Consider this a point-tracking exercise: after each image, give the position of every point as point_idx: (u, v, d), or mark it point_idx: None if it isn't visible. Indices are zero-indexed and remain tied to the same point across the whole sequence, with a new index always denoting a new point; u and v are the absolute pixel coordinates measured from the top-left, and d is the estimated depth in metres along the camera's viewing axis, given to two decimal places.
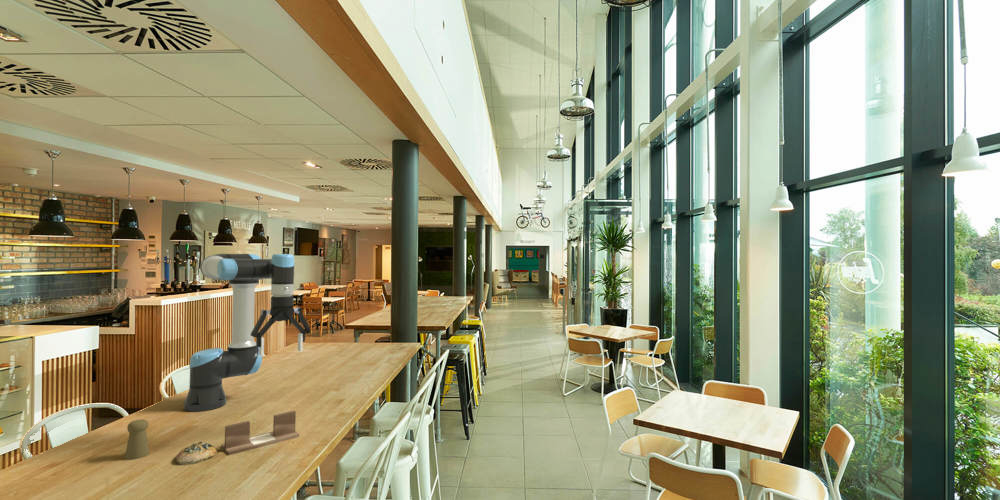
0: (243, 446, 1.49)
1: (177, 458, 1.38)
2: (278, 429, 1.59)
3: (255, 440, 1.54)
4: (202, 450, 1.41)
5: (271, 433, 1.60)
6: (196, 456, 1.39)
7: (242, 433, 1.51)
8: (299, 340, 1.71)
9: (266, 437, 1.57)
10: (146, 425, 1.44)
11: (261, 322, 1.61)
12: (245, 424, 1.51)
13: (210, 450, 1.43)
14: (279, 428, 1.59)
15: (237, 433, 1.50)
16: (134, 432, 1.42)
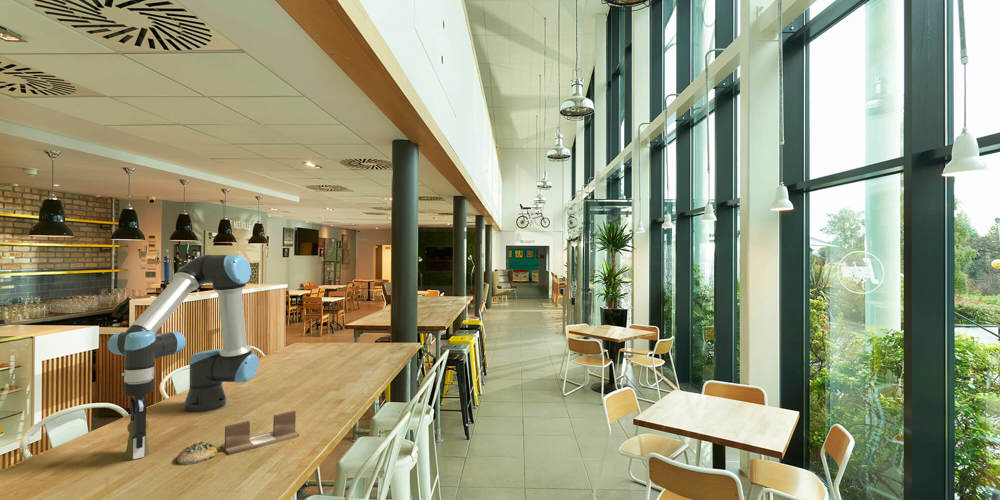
0: (243, 446, 1.49)
1: (178, 458, 1.39)
2: (278, 429, 1.59)
3: (255, 440, 1.54)
4: (203, 450, 1.41)
5: (271, 433, 1.60)
6: (197, 456, 1.39)
7: (242, 433, 1.51)
8: None
9: (266, 437, 1.57)
10: (146, 425, 1.44)
11: None
12: (245, 424, 1.51)
13: (211, 450, 1.43)
14: (279, 428, 1.59)
15: (237, 433, 1.50)
16: None
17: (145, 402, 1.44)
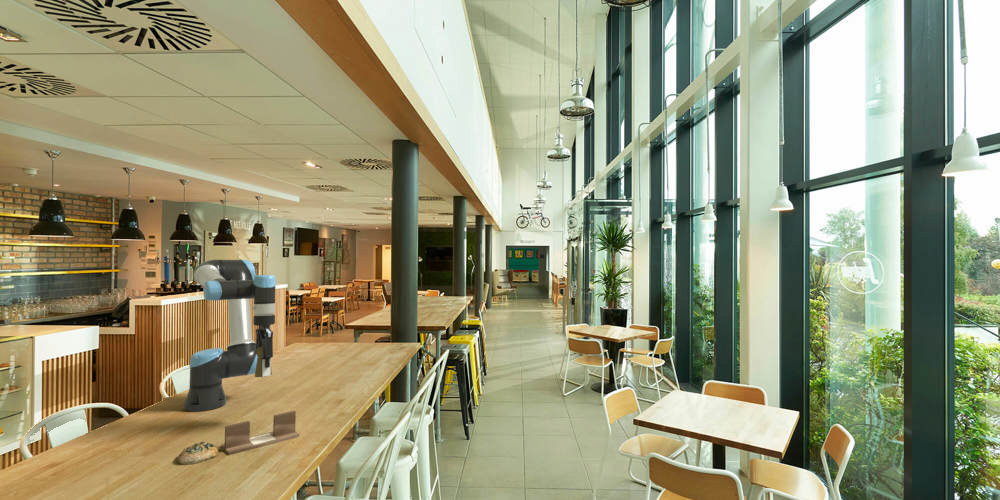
0: (243, 446, 1.49)
1: (179, 458, 1.39)
2: (278, 429, 1.59)
3: (255, 440, 1.54)
4: (204, 450, 1.41)
5: (271, 433, 1.60)
6: (198, 456, 1.39)
7: (242, 433, 1.51)
8: None
9: (266, 437, 1.57)
10: None
11: (256, 340, 1.79)
12: (245, 424, 1.51)
13: (212, 450, 1.43)
14: (279, 428, 1.59)
15: (237, 433, 1.50)
16: (262, 355, 1.73)
17: (270, 331, 1.75)
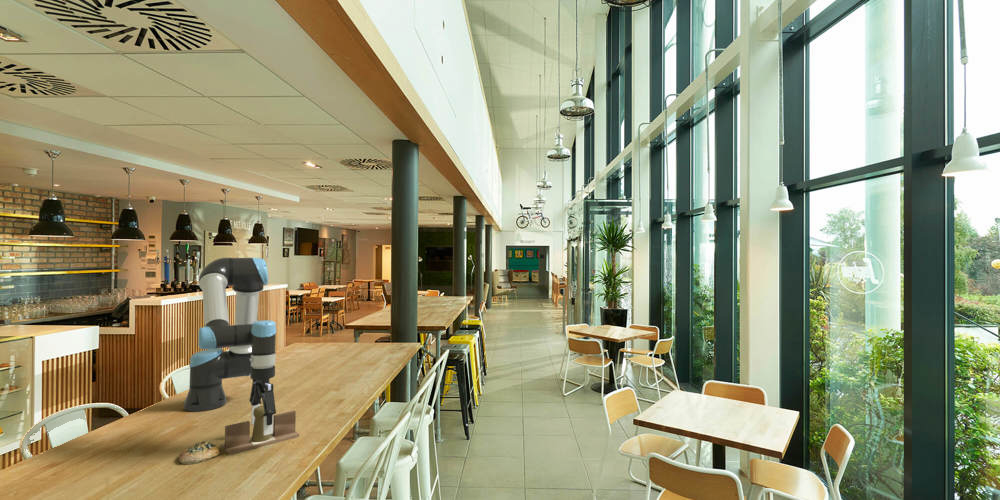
0: (243, 446, 1.49)
1: (180, 458, 1.39)
2: (278, 429, 1.59)
3: None
4: (205, 450, 1.42)
5: None
6: (199, 456, 1.39)
7: (242, 433, 1.51)
8: None
9: None
10: None
11: (252, 389, 1.60)
12: (245, 424, 1.51)
13: (213, 450, 1.43)
14: (279, 428, 1.59)
15: (237, 433, 1.50)
16: (260, 417, 1.53)
17: None
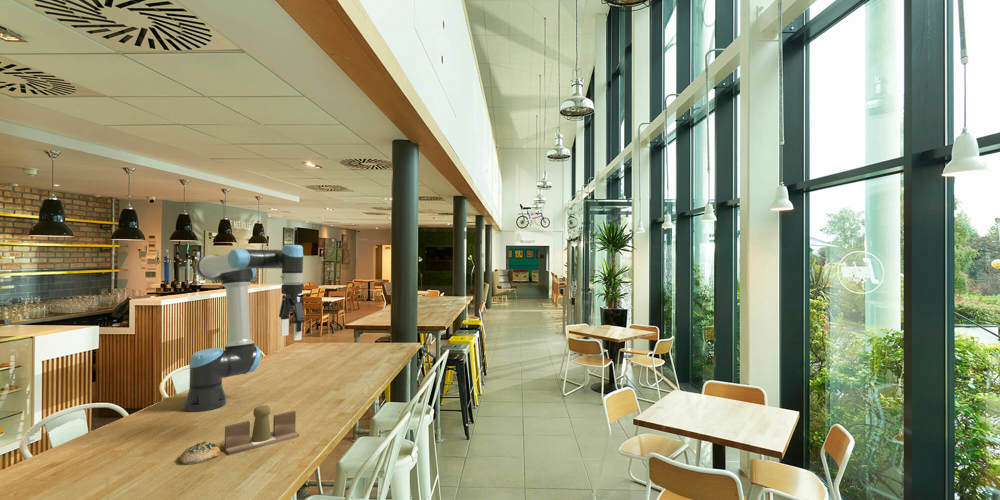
0: (243, 446, 1.49)
1: (181, 458, 1.39)
2: (278, 429, 1.59)
3: None
4: (206, 450, 1.42)
5: (271, 433, 1.60)
6: (199, 456, 1.39)
7: (242, 433, 1.51)
8: None
9: None
10: (269, 411, 1.56)
11: (281, 305, 1.82)
12: (245, 424, 1.51)
13: (214, 450, 1.43)
14: (279, 428, 1.59)
15: (237, 433, 1.50)
16: (260, 417, 1.53)
17: None
